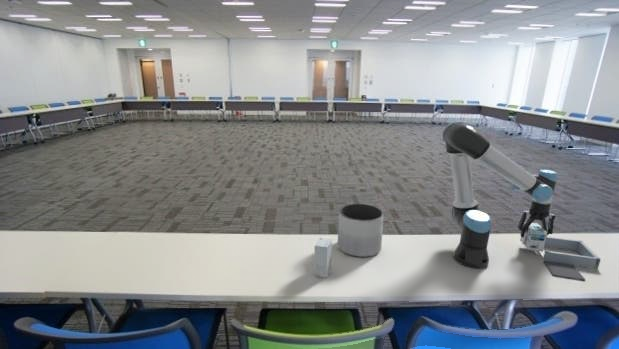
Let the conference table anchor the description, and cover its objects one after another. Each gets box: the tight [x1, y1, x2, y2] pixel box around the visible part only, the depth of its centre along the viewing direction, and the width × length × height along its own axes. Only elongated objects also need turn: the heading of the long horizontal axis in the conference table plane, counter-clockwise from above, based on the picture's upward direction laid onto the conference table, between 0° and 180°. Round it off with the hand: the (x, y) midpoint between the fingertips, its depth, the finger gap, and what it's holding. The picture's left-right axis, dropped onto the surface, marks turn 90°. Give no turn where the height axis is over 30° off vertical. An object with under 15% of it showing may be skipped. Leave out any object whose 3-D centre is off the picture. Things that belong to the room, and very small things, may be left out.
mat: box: [542, 260, 586, 281], centre depth 149 cm, size 12×12×1 cm
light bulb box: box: [520, 221, 548, 253], centre depth 164 cm, size 11×7×11 cm, turn 168°
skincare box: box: [314, 237, 333, 279], centre depth 144 cm, size 8×6×15 cm
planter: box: [337, 203, 384, 258], centre depth 165 cm, size 22×22×20 cm
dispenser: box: [536, 236, 601, 270], centre depth 162 cm, size 22×18×5 cm
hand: (531, 244), depth 165 cm, fingers closed on light bulb box, 7 cm apart
